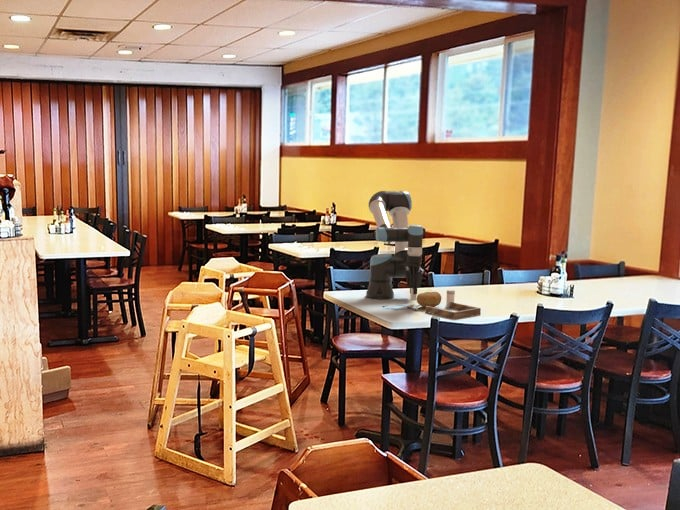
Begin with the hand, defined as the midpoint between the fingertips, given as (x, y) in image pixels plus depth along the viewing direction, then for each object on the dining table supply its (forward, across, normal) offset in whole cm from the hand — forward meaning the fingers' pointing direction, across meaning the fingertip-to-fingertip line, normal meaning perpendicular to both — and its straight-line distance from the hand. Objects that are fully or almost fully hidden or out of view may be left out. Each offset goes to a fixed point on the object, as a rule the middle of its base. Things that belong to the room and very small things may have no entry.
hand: (413, 300), depth 366 cm
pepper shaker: (+2, +14, +12) cm, 19 cm away
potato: (+3, +10, 0) cm, 11 cm away
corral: (+2, +26, 0) cm, 27 cm away
